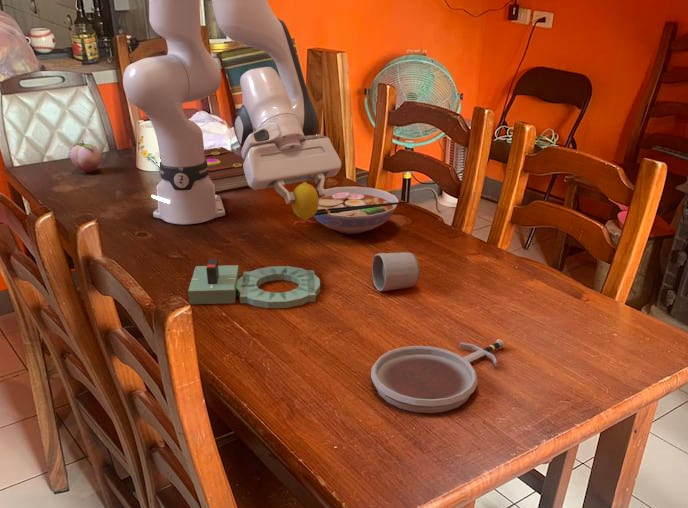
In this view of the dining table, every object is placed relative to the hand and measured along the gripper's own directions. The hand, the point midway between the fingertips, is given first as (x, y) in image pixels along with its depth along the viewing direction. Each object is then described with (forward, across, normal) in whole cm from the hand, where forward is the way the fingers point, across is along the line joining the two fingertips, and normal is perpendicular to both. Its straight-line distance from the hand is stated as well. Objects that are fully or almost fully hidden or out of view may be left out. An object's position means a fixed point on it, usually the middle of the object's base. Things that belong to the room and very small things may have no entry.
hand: (306, 199), depth 135 cm
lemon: (+3, 0, -4) cm, 5 cm away
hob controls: (+9, +20, -15) cm, 26 cm away
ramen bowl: (-2, -23, -26) cm, 35 cm away
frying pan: (+44, -2, +20) cm, 48 cm away
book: (-44, -10, -69) cm, 83 cm away
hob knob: (+8, +20, -12) cm, 25 cm away
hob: (+14, +8, -11) cm, 19 cm away
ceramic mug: (+21, -13, -4) cm, 25 cm away
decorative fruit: (-61, +22, -86) cm, 108 cm away
